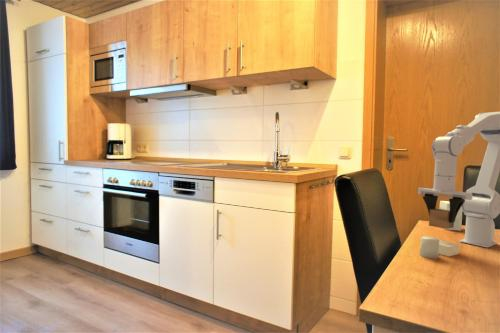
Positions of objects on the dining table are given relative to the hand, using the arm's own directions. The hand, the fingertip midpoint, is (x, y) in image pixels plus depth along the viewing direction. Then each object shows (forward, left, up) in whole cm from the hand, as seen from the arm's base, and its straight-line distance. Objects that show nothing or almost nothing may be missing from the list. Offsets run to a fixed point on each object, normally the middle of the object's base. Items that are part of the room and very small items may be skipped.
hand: (441, 220), depth 99 cm
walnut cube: (0, 0, -2) cm, 2 cm away
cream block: (+4, +2, -9) cm, 10 cm away
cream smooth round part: (+12, +2, -9) cm, 15 cm away
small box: (-36, -11, -9) cm, 39 cm away
